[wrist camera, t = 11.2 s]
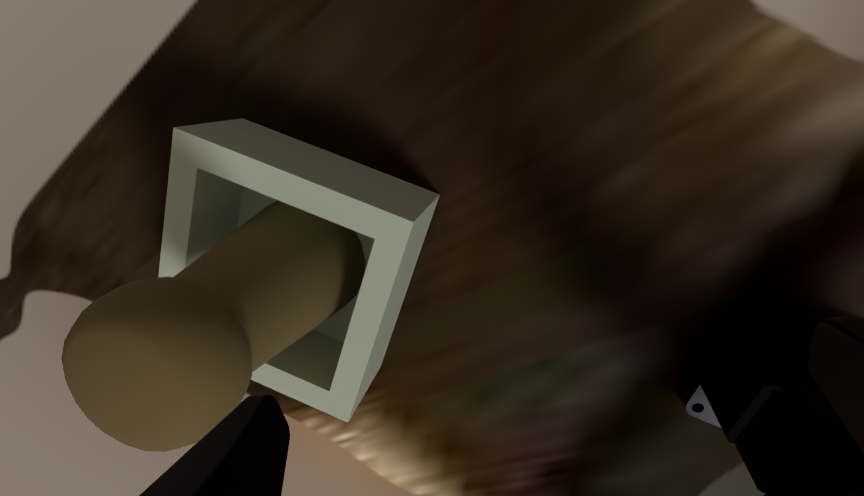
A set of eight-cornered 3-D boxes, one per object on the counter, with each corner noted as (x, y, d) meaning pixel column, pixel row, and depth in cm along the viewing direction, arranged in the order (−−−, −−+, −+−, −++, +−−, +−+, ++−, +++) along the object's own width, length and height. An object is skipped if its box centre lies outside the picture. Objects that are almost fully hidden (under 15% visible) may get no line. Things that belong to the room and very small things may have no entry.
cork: (227, 239, 24) (-15, 360, 14) (309, 170, 21) (93, 251, 11) (303, 333, 24) (130, 512, 14) (390, 276, 22) (257, 441, 12)
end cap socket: (439, 194, 21) (413, 222, 17) (380, 366, 25) (347, 422, 21) (242, 118, 22) (173, 127, 18) (215, 295, 26) (152, 335, 22)
